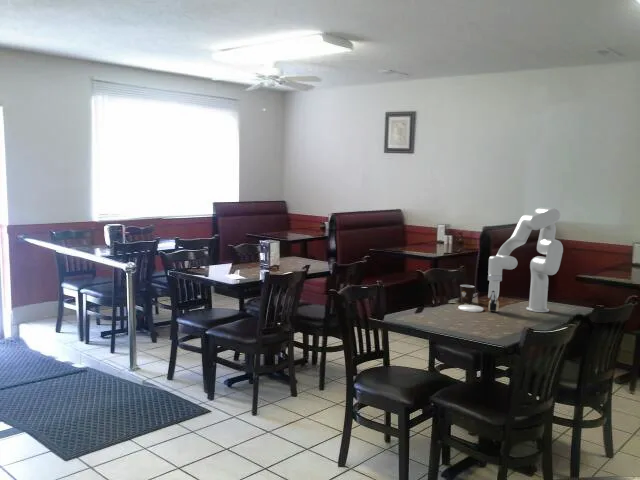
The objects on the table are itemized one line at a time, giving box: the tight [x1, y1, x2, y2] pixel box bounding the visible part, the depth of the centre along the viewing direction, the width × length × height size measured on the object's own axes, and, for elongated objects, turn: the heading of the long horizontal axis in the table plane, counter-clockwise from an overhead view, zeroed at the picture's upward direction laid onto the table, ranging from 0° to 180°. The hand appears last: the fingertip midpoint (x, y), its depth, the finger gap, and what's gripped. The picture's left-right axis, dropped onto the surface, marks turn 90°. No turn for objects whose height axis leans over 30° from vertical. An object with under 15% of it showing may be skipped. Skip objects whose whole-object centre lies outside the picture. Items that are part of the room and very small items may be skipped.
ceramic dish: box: [457, 304, 484, 313], centre depth 334 cm, size 14×14×1 cm
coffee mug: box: [459, 284, 480, 304], centre depth 354 cm, size 12×9×10 cm
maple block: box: [488, 299, 500, 312], centre depth 330 cm, size 5×5×5 cm
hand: (493, 309), depth 331 cm, fingers closed on maple block, 4 cm apart
